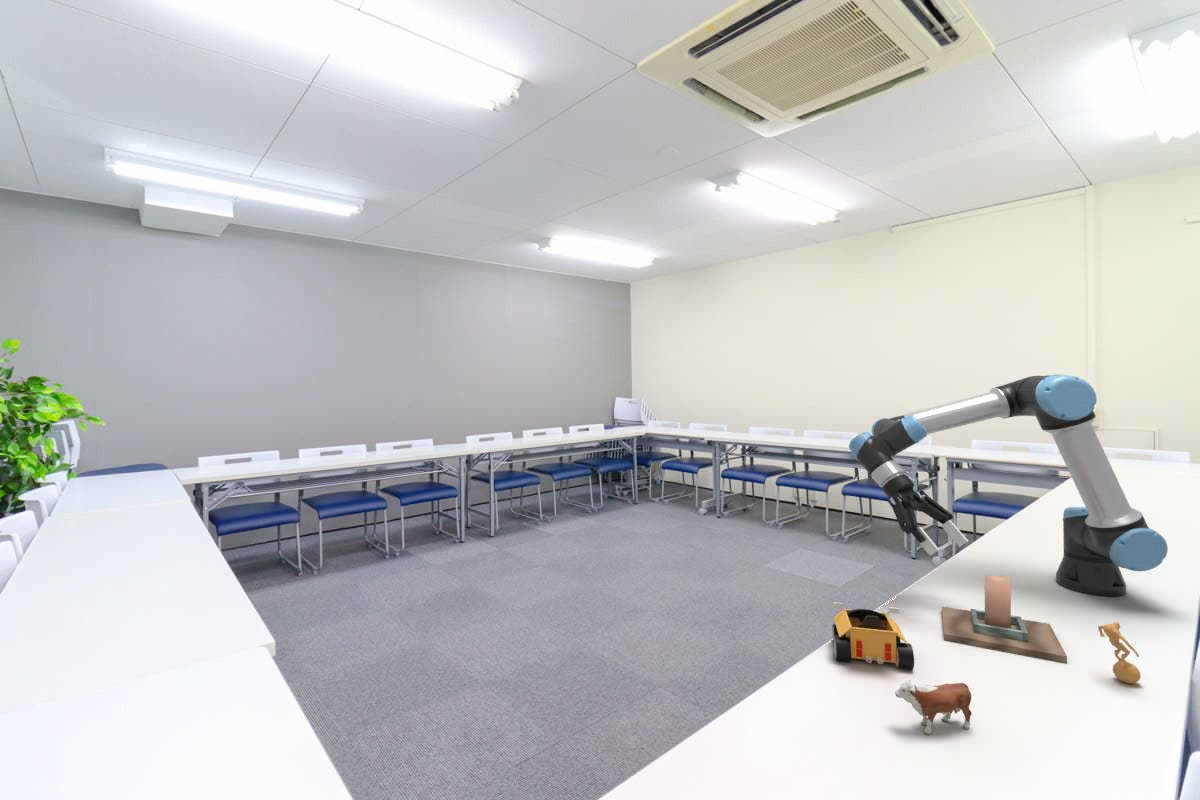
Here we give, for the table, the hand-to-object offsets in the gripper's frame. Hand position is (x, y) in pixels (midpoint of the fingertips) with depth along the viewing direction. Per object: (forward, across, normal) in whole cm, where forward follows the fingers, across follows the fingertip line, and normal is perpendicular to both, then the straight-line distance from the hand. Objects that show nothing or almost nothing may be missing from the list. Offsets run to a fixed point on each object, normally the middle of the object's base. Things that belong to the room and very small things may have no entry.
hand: (949, 548), depth 137 cm
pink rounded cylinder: (+19, 0, -4) cm, 20 cm away
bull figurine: (+29, +48, +3) cm, 56 cm away
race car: (+14, +34, -12) cm, 39 cm away
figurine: (+36, +3, +11) cm, 38 cm away
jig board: (+20, 0, -5) cm, 21 cm away
